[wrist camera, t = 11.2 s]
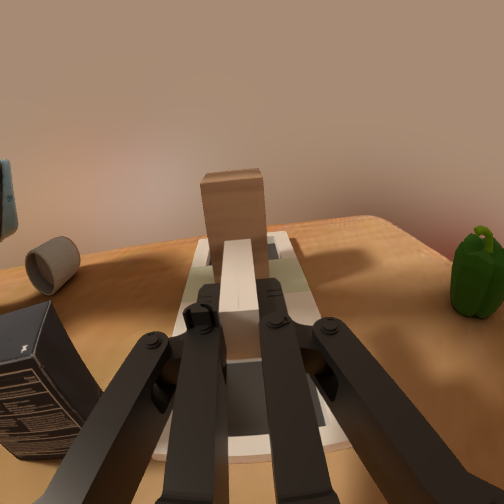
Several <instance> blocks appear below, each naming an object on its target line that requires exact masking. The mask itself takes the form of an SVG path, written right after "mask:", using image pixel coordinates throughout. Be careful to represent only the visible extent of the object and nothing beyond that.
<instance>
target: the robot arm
mask: <svg viewBox="0 0 504 504" xmlns="http://www.w3.org/2000/svg"><path fill="white" fill-rule="evenodd" d="M17 228H18V218H17V212H16V205H15V199H14V192H13V184H12V176H11V167H10V162H9V160H7V159H6V160H0V242H2V241H3V239H5V238H7V237H9V236H10V235H12V234H14V233H15V232H16V230H17ZM182 314H183V318H184V321H185V325H186V328H187V330H186V332H184V333H183V334H180V335H178V336H174V337H170V338H168V336H167V335H166V334H165V333H162V332H155V331H153V332H150V333H147V334H145V335H143V336H142V337H141V338H140V339H139V340H138V341H137V343H136V344H135V346H134V347H133V349H132V350H131V352H130V353H129V355H128V356H127V358H126V359H125V361H124V362H123V364H122V365H121V367H120V368H119V370H118V371H117V373H116V374H115V376H114V377H113V379H112V381H111V382H110V384H109V385H108V387H107V388H106V390H105V391H104V393H103V395H102V396H101V398H100V399H99V401H98V402H97V404H96V406H95V407H94V409H93V410H92V412H91V414H90V415H89V417H88V418H87V420H86V422H85V423H84V425H83V427H82V428H81V430H80V432H79V433H78V435H77V437H76V438H75V440H74V442H73V443H72V445H71V447H70V448H69V450H68V452H67V454H66V455H65V457H64V459H63V461H62V462H61V464H60V466H59V468H58V469H57V471H56V473H55V475H54V477H53V478H52V480H51V482H50V484H49V486H48V488H47V489H46V491H45V493H44V495H43V496H41V497H40V498H39V499H38V500H36V501H35V502H34V503H33V504H131V502H132V500H133V498H134V495H135V493H136V491H137V489H138V486H139V484H140V482H141V480H142V477H143V475H144V473H145V470H146V468H147V466H148V464H149V461H150V459H151V457H152V455H153V452H154V450H155V448H156V446H157V443H158V441H159V439H160V437H161V434H162V432H163V430H164V428H165V426H166V423H167V421H168V419H169V417H170V414H171V412H172V410H173V412H172V419H171V426H170V433H169V441H168V449H167V457H166V465H165V474H164V484H163V492H162V495H161V497H160V498H159V499H158V500H157V501H156V502H155V504H229V471H228V367H227V359H228V360H243V359H255V358H262V370H263V379H264V389H265V399H266V409H267V419H268V429H269V439H270V448H271V458H272V468H273V478H274V488H275V497H276V504H340V502H339V498H338V496H337V494H336V493H335V491H334V490H333V489H332V486H331V482H330V477H329V472H328V468H327V463H326V459H325V454H324V449H323V445H322V440H321V436H320V432H319V427H318V423H317V418H316V414H315V410H314V405H313V401H312V397H311V393H310V389H309V384H308V380H307V376H306V373H307V374H309V376H310V378H311V379H312V381H313V383H314V384H315V386H316V388H317V389H318V391H319V392H320V394H321V396H322V397H323V399H324V401H325V402H326V404H327V406H328V407H329V409H330V411H331V412H332V414H333V415H334V417H335V419H336V420H337V422H338V424H339V425H340V427H341V429H342V430H343V432H344V433H345V435H346V437H347V438H348V440H349V441H350V443H351V445H352V446H353V448H354V450H355V451H356V453H357V454H358V456H359V458H360V459H361V461H362V462H363V464H364V466H365V467H366V469H367V470H368V472H369V473H370V475H371V477H372V478H373V480H374V481H375V483H376V485H377V486H378V488H379V489H380V491H381V492H382V494H383V496H384V497H385V499H386V500H387V502H388V503H389V504H504V490H502V489H500V488H498V487H496V486H494V485H492V484H490V483H488V482H486V481H484V480H482V479H480V478H478V477H476V476H474V475H472V474H471V473H469V472H467V471H466V469H465V468H464V467H463V466H462V464H461V463H460V462H459V460H458V459H457V458H456V457H455V455H454V454H453V453H452V451H451V450H450V449H449V448H448V446H447V445H446V444H445V443H444V441H443V440H442V439H441V438H440V436H439V435H438V434H437V433H436V431H435V430H434V429H433V428H432V426H431V425H430V424H429V423H428V422H427V420H426V419H425V418H424V417H423V415H422V414H421V413H420V412H419V411H418V409H417V408H416V407H415V406H414V404H413V403H412V402H411V401H410V400H409V398H408V397H407V396H406V395H405V394H404V392H403V391H402V390H401V389H400V388H399V386H398V385H397V384H396V383H395V382H394V380H393V379H392V378H391V377H390V376H389V375H388V373H387V372H386V371H385V370H384V369H383V367H382V366H381V365H380V364H379V363H378V362H377V360H376V359H375V358H374V357H373V356H372V355H371V353H370V352H369V351H368V350H367V349H366V348H365V346H364V345H363V344H362V343H361V342H360V341H359V339H358V338H357V337H356V336H355V335H354V334H353V332H352V331H351V330H350V329H349V328H348V327H347V326H346V324H345V323H344V322H342V321H341V320H339V319H337V318H333V317H325V318H321V319H319V320H317V321H316V322H315V323H314V324H313V326H310V325H303V324H299V323H296V322H295V321H293V320H292V319H291V317H290V316H289V314H288V310H287V306H286V302H285V298H284V295H283V291H282V287H281V283H280V282H279V281H278V280H277V279H276V278H265V279H255V273H254V265H253V256H252V247H251V239H242V240H230V241H225V242H224V253H223V264H222V276H221V283H214V284H204V285H203V286H202V287H201V288H200V289H199V291H198V298H197V302H196V303H193V304H191V305H189V306H188V307H186V308H185V309H184V311H183V313H182Z"/></svg>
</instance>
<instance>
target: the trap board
mask: <svg viewBox="0 0 504 504" xmlns="http://www.w3.org/2000/svg"><path fill="white" fill-rule="evenodd" d="M267 244H268V259H269V276H270V278H276V279H277V280H278V281H279V282H280V283H281V287H282V291H283V295H284V298H285V302H286V306H287V310H288V314H289V316H290V317H291V319H292V320H293V321H295V322H296V323H299V324H303V325H310V326H313V324H314V323H315V322H316V321H317V320H319V319H321V315H320V312H319V310H318V307H317V305H316V302H315V300H314V298H313V295H312V293H311V290H310V288H309V285H308V283H307V280H306V278H305V276H304V273H303V271H302V268H301V266H300V264H299V261H298V259H297V257H296V254H295V252H294V250H293V247H292V245H291V243H290V240H289V238H288V236H287V233H286V231H280V232H269V233H267ZM214 283H215V280H214V274H213V268H212V262H211V256H210V250H209V243H208V238H207V239H199V242H198V245H197V249H196V252H195V255H194V259H193V262H192V265H191V269H190V272H189V276H188V279H187V283H186V286H185V290H184V293H183V297H182V301H181V304H180V308H179V312H178V315H177V319H176V323H175V327H174V331H173V335H172V337H174V336H178V335H180V334H183V333H184V332H186V330H187V328H186V325H185V321H184V318H183V314H182V313H183V311H184V309H185V308H186V307H188V306H189V305H191V304H193V303H196V302H197V298H198V291H199V289H200V288H201V287H202V286H203V285H204V284H214ZM227 367H228V464H237V463H255V462H267V461H272V458H271V448H270V439H269V429H268V419H267V409H266V399H265V389H264V379H263V370H262V358H255V359H243V360H228V359H227ZM306 376H307V380H308V384H309V389H310V393H311V397H312V401H313V405H314V410H315V414H316V418H317V423H318V427H319V432H320V436H321V440H322V445H323V449H324V453H328V452H333V451H337V450H342V449H346V448H350V447H353V446H352V445H351V443H350V441H349V440H348V438H347V437H346V435H345V433H344V432H343V430H342V429H341V427H340V425H339V424H338V422H337V420H336V419H335V417H334V415H333V414H332V412H331V411H330V409H329V407H328V406H327V404H326V402H325V401H324V399H323V397H322V396H321V394H320V392H319V391H318V389H317V388H316V386H315V384H314V383H313V381H312V379H311V378H310V376H309V374H307V373H306ZM172 412H173V410H172ZM172 412H171V414H170V417H169V419H168V421H167V423H166V426H165V428H164V430H163V432H162V434H161V437H160V439H159V441H158V443H157V446H156V448H155V450H154V452H153V455H152V458H153V459H154V460H156V461H165V462H166V457H167V449H168V441H169V433H170V426H171V419H172Z"/></svg>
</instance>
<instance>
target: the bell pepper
mask: <svg viewBox="0 0 504 504" xmlns="http://www.w3.org/2000/svg"><path fill="white" fill-rule="evenodd" d="M474 231H475V234H476V235H475V234H472V233H471V234H470V235H468V236H467V237H466V238H465V239H464V241H463V242H461V243H460V245H459V246H458V248H457V249H456V251H455V256H454V260H453V265H452V273H451V289H450V297H451V301H452V304H453V306H454V308H455V309H456V310H457V311H458V312H459V313H460V314H462V315H466V316H470V317H471V316H473V315H476V316H478V317H479V318H484V319H485V318H486V317H488V316H489V315H491V314H492V313H494V312H495V311H496V310H497V309H498V307H499V306H500V305H501V304H502V302H503V301H504V249H503V248H502V246H501V245H500V244H499V243H498V242H497V241H496V239H495V238H494V237H493V234H492V232H491V231H490V230H489V229H488V228H487V227H484V226H478V227H475V228H474ZM480 235H484V236H485V238H482V239H481V238H480V237H479V236H480Z"/></svg>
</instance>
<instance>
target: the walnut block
mask: <svg viewBox="0 0 504 504" xmlns="http://www.w3.org/2000/svg"><path fill="white" fill-rule="evenodd" d="M200 188H201V196H202V203H203V210H204V216H205V224H206V229H207V237H208V243H209V250H210V256H211V262H212V268H213V274H214V280H215V283H221V276H222V264H223V253H224V242H225V241H230V240H242V239H251V247H252V256H253V265H254V273H255V279H265V278H270V276H269V259H268V244H267V228H266V214H265V201H264V186H263V177H262V175H261V172H260V171H259V168H255V169H244V170H233V171H225V172H215V173H207V174H206V175H205V177H204V178H203V180H202V181H201V183H200Z"/></svg>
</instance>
